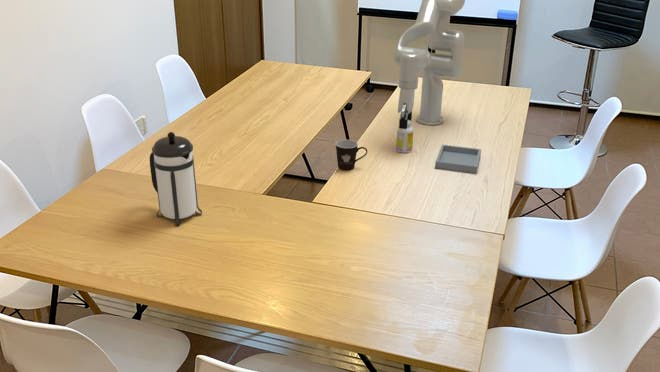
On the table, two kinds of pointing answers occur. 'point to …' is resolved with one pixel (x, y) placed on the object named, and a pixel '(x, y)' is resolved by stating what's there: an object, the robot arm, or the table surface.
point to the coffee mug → (347, 154)
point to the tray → (458, 159)
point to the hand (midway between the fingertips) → (405, 124)
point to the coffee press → (174, 177)
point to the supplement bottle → (404, 139)
